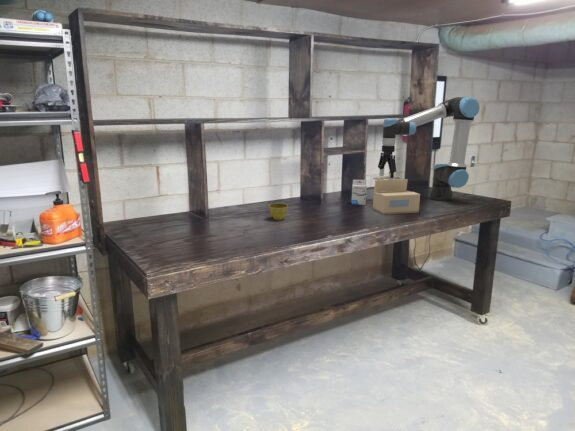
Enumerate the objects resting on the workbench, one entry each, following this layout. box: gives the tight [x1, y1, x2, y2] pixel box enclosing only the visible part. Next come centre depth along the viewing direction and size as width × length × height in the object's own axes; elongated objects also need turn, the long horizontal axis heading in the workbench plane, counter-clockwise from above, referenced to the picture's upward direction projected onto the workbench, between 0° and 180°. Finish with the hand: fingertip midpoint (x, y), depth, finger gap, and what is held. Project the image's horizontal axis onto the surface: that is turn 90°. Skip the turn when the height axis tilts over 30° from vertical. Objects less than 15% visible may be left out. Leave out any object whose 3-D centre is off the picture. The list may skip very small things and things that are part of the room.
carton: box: [372, 190, 421, 215], centre depth 255 cm, size 22×14×11 cm, turn 105°
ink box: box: [350, 179, 368, 206], centre depth 271 cm, size 9×5×15 cm, turn 84°
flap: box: [372, 175, 408, 193], centre depth 263 cm, size 21×8×7 cm
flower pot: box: [268, 203, 289, 221], centre depth 235 cm, size 10×10×7 cm
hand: (385, 181), depth 266 cm, fingers open, 11 cm apart
